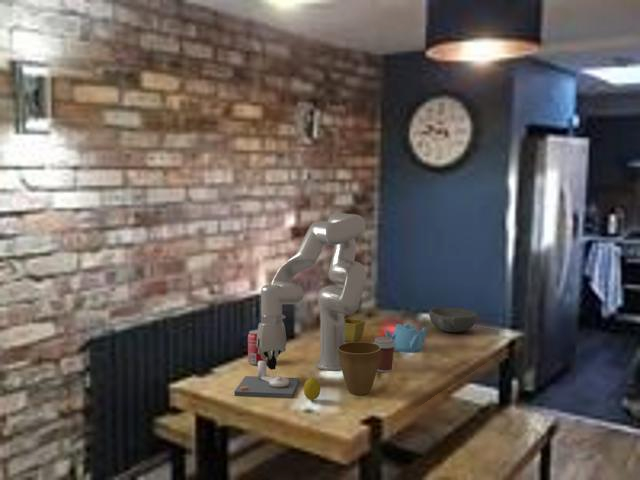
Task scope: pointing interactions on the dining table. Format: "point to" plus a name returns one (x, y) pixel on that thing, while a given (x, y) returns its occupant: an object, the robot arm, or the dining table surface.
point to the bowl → (452, 318)
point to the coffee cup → (385, 353)
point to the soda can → (254, 349)
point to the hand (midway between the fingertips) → (271, 368)
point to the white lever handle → (272, 381)
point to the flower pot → (353, 329)
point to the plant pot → (359, 365)
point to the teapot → (407, 338)
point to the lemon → (311, 389)
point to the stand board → (265, 388)
